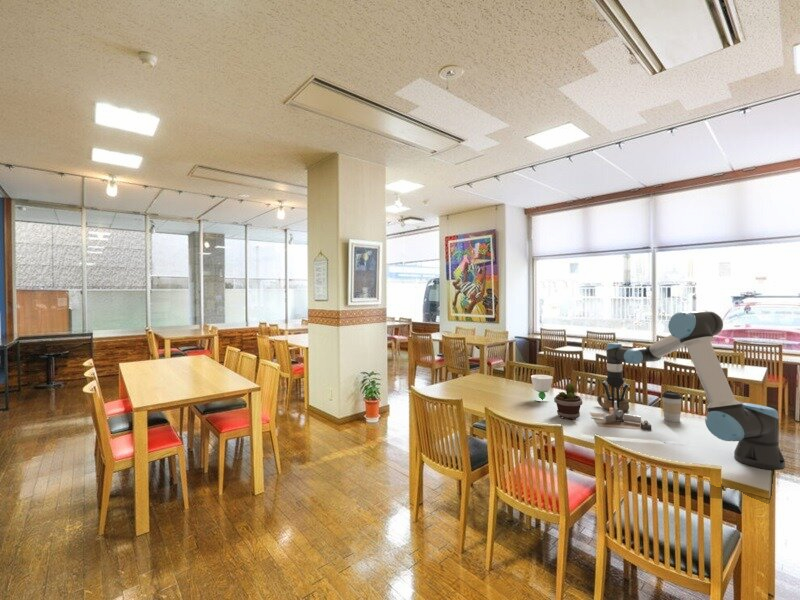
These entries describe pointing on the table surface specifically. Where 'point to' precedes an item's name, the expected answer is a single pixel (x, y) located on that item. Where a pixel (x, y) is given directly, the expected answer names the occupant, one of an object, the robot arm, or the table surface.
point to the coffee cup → (671, 406)
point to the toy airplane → (620, 423)
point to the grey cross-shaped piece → (620, 416)
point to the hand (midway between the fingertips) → (616, 413)
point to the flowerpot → (568, 403)
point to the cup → (541, 384)
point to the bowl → (608, 403)
